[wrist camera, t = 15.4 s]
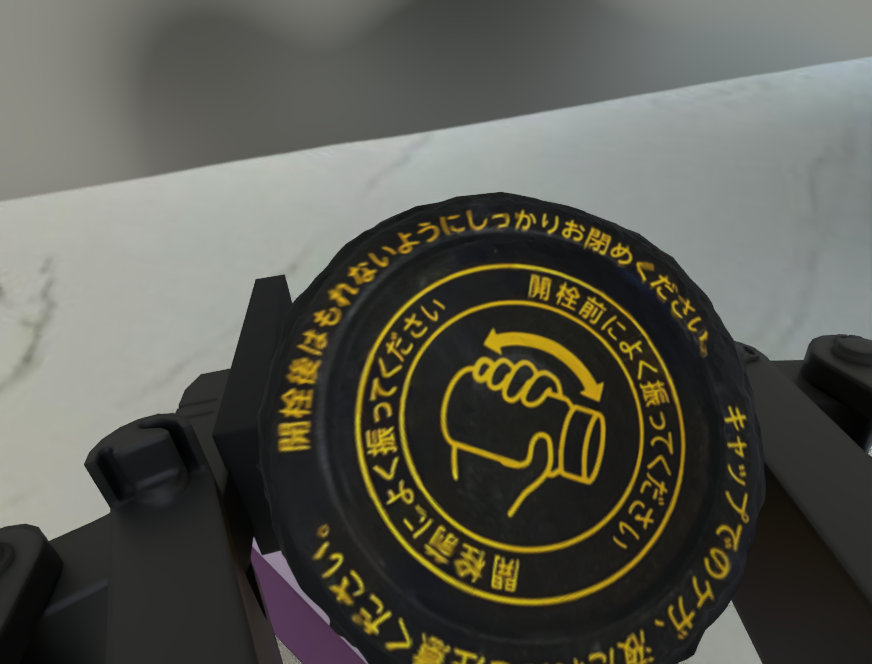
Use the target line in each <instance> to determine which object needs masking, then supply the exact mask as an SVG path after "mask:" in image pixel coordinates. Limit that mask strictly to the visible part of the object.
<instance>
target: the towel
mask: <svg viewBox="0 0 872 664" xmlns="http://www.w3.org/2000/svg"><path fill="white" fill-rule="evenodd" d="M251 562H252V564H253V566H254V568H255V571H256V573H257V575H258V578H259V582H260V585H261V589H262V592H263V596H264V599H265V603H266V606H267V610H268V613H269V617H270V620H271V624H272V627H273V630H274V634H275V635H276V636H277V637H278V638H279V639H280V640H281V642H282V643H283V644H284V645H285V646H286V647H287V648H288V649H289V650H290V651H291V652H292V653H293V654H294V655H295V656H296V657H297V658H298V659H299V660H300V662H301V663H302V664H368V663H367V661H366V660H365V658H364V657H363V655H362V654H361V653H360V651H359V650H358V649H357V648H356V647H353V646H352V645H351V644H350V643H349V642H348V641H347V640H346V639H345V638H343V637H341V636H339V635H338V634H336V633H335V632H334V630H333V629H332V628H331V627H330V626H329V625H330V619H329V617H328V616H327V615H326V613H325V612H324V611H323V610H322V609H321V608H320V607H319V606H317V605H316V604H315V603H314V602H313V601H312V600H311V599H310V598H309V597H308V596H307V595H306V594H305V593H304V592H303V591H302V590H301V588H300V587H299V585H298V583H297V581H296V579H295V577H294V575H293V573H292V571H291V569H290V567H289V566H288V564H287V560H286V559H285V558H284V556H283V555H282V553H281V551H278V552H274V553H270V554H266V555H261V552H260V550H259V548H258V545H257V543H256V540H255V538H254V537H253V545H252V553H251Z"/></svg>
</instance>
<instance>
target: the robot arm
mask: <svg viewBox="0 0 872 664" xmlns="http://www.w3.org/2000/svg"><path fill="white" fill-rule="evenodd" d="M291 305H292V301H291V297H290V293H289V289H288V285H287V282H286V278H285V275H279V276H273V277H267V278H261V279H256V280H255V284H254V288H253V291H252V295H251V298H250V302H249V305H248V309H247V312H246V316H245V320H244V323H243V327H242V330H241V334H240V337H239V341H238V344H237V348H236V352H235V355H234V359H233V362H232V366H231V369H226V370H221V371H216V372H211V373H206V374H201V375H200V376H199V377H198V378H197V379H196V380H195V381H194V382H193V383H192V384H191V385H190V386H189V387H188V388H187V389H185V391H184V394H183V396H182V399H181V401H180V403H179V409H177V411H176V413H170V414H156V415H152V416H148V417H145V418H141V419H138V420H136V421H133V422H131V423H129V424H127V425H124V426H122V427H120V428H118V429H117V430H115V431H114V432H112V433H111V434H109V435H108V436H106V437H105V438H103V439H102V440H101V441H100V442H99V443H98V444H97V445H96V446H95V447H94V448H93V449H92V450H91V451H90V452H89V454H88V456H87V459H86V461H85V463H84V466H85V467H86V469H87V471H88V472H89V474H90V476H91V477H92V479H93V480H94V482H95V484H96V485H97V487H98V489H99V490H100V492H101V494H102V495H103V497H104V498H105V500H106V502H107V503H108V505H109V507H110V513H109V514H107V515H105V516H103V517H101V518H99V519H97V520H95V521H93V522H91V523H89V524H87V525H84V526H82V527H80V528H78V529H75V530H73V531H71V532H69V533H66V534H64V535H62V536H60V537H57V538H55V539H53V540H51V541H48V539H47V538H46V537H45V535H44V534H43V533H42V531H41V530H40V529H39V527H36V526H32V525H28V524H20V525H13V526H7V527H3V528H1V529H0V664H283V662H282V658H281V655H280V651H279V648H278V644H277V641H276V637H275V634H274V630H273V627H272V624H271V620H270V617H269V613H268V610H267V606H266V603H265V599H264V596H263V592H262V589H261V585H260V582H259V578H258V575H257V573H256V571H255V568H254V566H253V564H252V562H251V553H252V545H253V537H254V538H255V540H256V543H257V545H258V548H259V550H260V552H261V555H266V554H270V553H274V552H278V551H281V549H280V545H279V542H278V538H277V536H276V534H275V532H274V530H273V528H272V522H273V521H272V519H271V512H270V506H269V502H268V501H267V499H266V497H265V492H264V481H263V476H262V474H261V473H260V471H259V470H258V468H257V464H258V462H259V460H260V454H259V435H258V418H257V415H256V414H257V413H258V412H259V409H260V407H261V404H262V400H263V396H264V390H265V386H266V384H267V380H268V376H269V372H270V369H269V365H268V362H269V360H270V358H271V356H272V354H273V352H274V351H275V350H276V349H277V346H278V343H279V339H280V336H281V333H282V328H283V319H284V316H285V314H286V312H287V311H288V309H289V307H290V306H291ZM734 343H735V345H736V347H737V350H738V351H739V353H740V355H741V357H742V359H743V360H744V362H745V365H746V371H747V374H748V377H749V381H750V384H751V387H752V390H753V393H754V399H755V408H756V415H757V418H758V421H759V424H760V428H761V434H762V442H763V453H764V473H765V481H766V492H765V501H764V503H763V505H762V507H761V509H760V511H759V514H758V518H757V529H756V533H755V536H754V540H753V543H752V547H751V549H750V552H749V555H748V558H747V560H746V566H745V571H744V576H743V578H742V580H741V582H740V584H739V586H738V588H737V590H736V592H735V594H734V596H733V597H732V599H731V600H732V602H733V604H734V606H735V608H736V611H737V613H738V615H739V617H740V619H741V621H742V623H743V625H744V627H745V629H746V631H747V633H748V635H749V637H750V639H751V641H752V643H753V645H754V647H755V649H756V651H757V653H758V655H759V657H760V659H761V661H762V663H763V664H872V457H871V456H870V455H868V452H869V450H870V448H871V446H872V340H868V339H863V338H862V337H860V336H855V335H849V336H847V335H845V334H837V335H825V336H820V337H817V338H814V339H812V341H811V342H810V344H809V346H808V349H807V352H806V355H805V358H804V360H784V361H770V360H769V359H768V358H767V357H766V356H765V355H764V354H762V353H761V352H759V351H758V350H757V349H755V348H753V347H751V346H749V345H746V344H743V343H740V342H736V341H734Z"/></svg>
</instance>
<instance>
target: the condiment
mask: <svg viewBox="0 0 872 664" xmlns="http://www.w3.org/2000/svg"><path fill="white" fill-rule="evenodd" d="M268 365H269V369H270V372H269V376H268V380H267V384H266V386H265V390H264V396H263V400H262V404H261V407H260V409H259V412H258V413H257V414H256V415H257V418H258V435H259V454H260V460H259V462H258V464H257V468H258V470H259V471H260V473H261V474H262V476H263V481H264V492H265V497H266V499H267V501H268V502H269V506H270V512H271V519H272V521H273V522H272V528H273V530H274V532H275V534H276V536H277V538H278V542H279V545H280V549H281V553H282V555H283V556H284V558H285V559H286V560H287V564H288V566H289V567H290V569H291V571H292V573H293V575H294V577H295V579H296V581H297V583H298V585H299V587H300V588H301V590H302V591H303V592H304V593H305V594H306V595H307V596H308V597H309V598H310V599H311V600H312V601H313V602H314V603H315V604H316V605H317V606H319V607H320V608H321V609H322V610H323V611H324V612H325V613H326V615H327V616H328V617H329V619H330V625H329V626H330V627H331V628H332V629H333V630H334V632H335V633H336V634H338V635H339V636H341V637H343V638H345V639H346V640H347V641H348V642H349V643H350V644H351V645H352V646H353V647H356V648H357V649H358V650H359V651H360V653H361V654H362V655H363V657H364V658H365V660H366V661H367V663H368V664H678V663H679V662H681V661H684V660H686V659H688V658H690V657H691V656H693V655H694V654H695V652H696V649H697V647H698V644H699V642H700V640H701V638H702V636H703V634H704V632H705V630H706V629H707V628H708V627H709V626H710V625H711V624H712V623H714V622H715V620H716V619H717V618H718V617H719V616H720V615H721V614H722V613H723V611H724V610H725V609H726V608H727V606H728V604H729V602H730V601H731V599H732V597H733V596H734V594H735V592H736V590H737V588H738V586H739V584H740V582H741V580H742V578H743V576H744V571H745V566H746V560H747V558H748V555H749V552H750V549H751V547H752V543H753V540H754V536H755V533H756V529H757V518H758V514H759V511H760V509H761V507H762V505H763V503H764V501H765V492H766V481H765V473H764V453H763V442H762V434H761V428H760V424H759V421H758V418H757V415H756V408H755V399H754V393H753V390H752V387H751V384H750V381H749V377H748V374H747V371H746V365H745V362H744V360H743V359H742V357H741V355H740V353H739V351H738V350H737V347H736V345H735V343H734V341H733V338H732V337H731V335H730V334H729V332H728V331H727V329H726V328H725V326H724V324H723V322H722V321H721V319H720V317H719V316H718V314H717V313H716V311H715V310H714V307H713V305H712V302H711V301H710V299H709V298H708V296H707V295H706V294H705V293H704V292H703V291H702V290H701V289H700V288H699V287H698V286H697V285H696V284H695V283H694V282H693V281H692V280H691V279H690V278H689V276H688V275H687V274H686V273H685V271H684V270H683V269H682V268H681V267H680V265H679V264H678V263H677V262H676V261H675V259H674V258H673V257H672V256H670V255H668V254H666V253H665V252H663V251H662V250H660V249H659V248H657V247H656V246H655V245H653V244H652V243H651V242H649V241H648V240H647V239H645V238H644V237H643V236H641V235H640V234H639V233H636V232H633V231H631V230H628V229H625V228H623V227H621V226H619V225H617V224H615V223H613V222H610V221H607V220H605V219H602V218H599V217H597V216H594V215H591V214H589V213H586V212H585V211H582V210H579V209H577V208H573V207H570V206H566V205H561V204H557V203H552V202H547V201H542V200H539V199H536V198H531V197H526V196H521V195H516V194H511V193H504V192H497V193H487V194H477V195H468V196H458V197H454V198H451V199H448V200H446V201H443V202H439V203H432V204H426V205H421V206H416V207H414V208H411V209H409V210H407V211H404V212H402V213H400V214H397V215H395V216H393V217H390V218H388V219H386V220H384V221H382V222H380V223H379V224H377V225H376V226H375V227H373V228H371V229H369V230H367V231H364V232H363V233H362V234H360V235H359V236H358V237H356V238H355V239H353V240H352V241H350V242H348V243H347V244H345V245H344V246H343V247H342V248H341V250H340V251H339V252H338V253H337V254H336V255H335V256H334V258H333V259H332V260H331V262H330V263H329V264H328V266H327V267H326V268H325V269H324V270H323V271H322V272H321V273H320V274H319V275H318V276H317V277H316V278H315V279H314V281H313V282H312V283H311V284H310V286H309V287H308V288H307V289H306V290H305V291H304V292H303V293H302V294H301V295H299V296H298V297H297V299H296V300H295V301H294V302H293V303H292V305H291V306H290V307H289V309H288V311H287V312H286V314H285V316H284V319H283V328H282V333H281V336H280V339H279V343H278V346H277V349H276V350H275V351H274V352H273V354H272V356H271V358H270V360H269V362H268Z"/></svg>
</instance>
